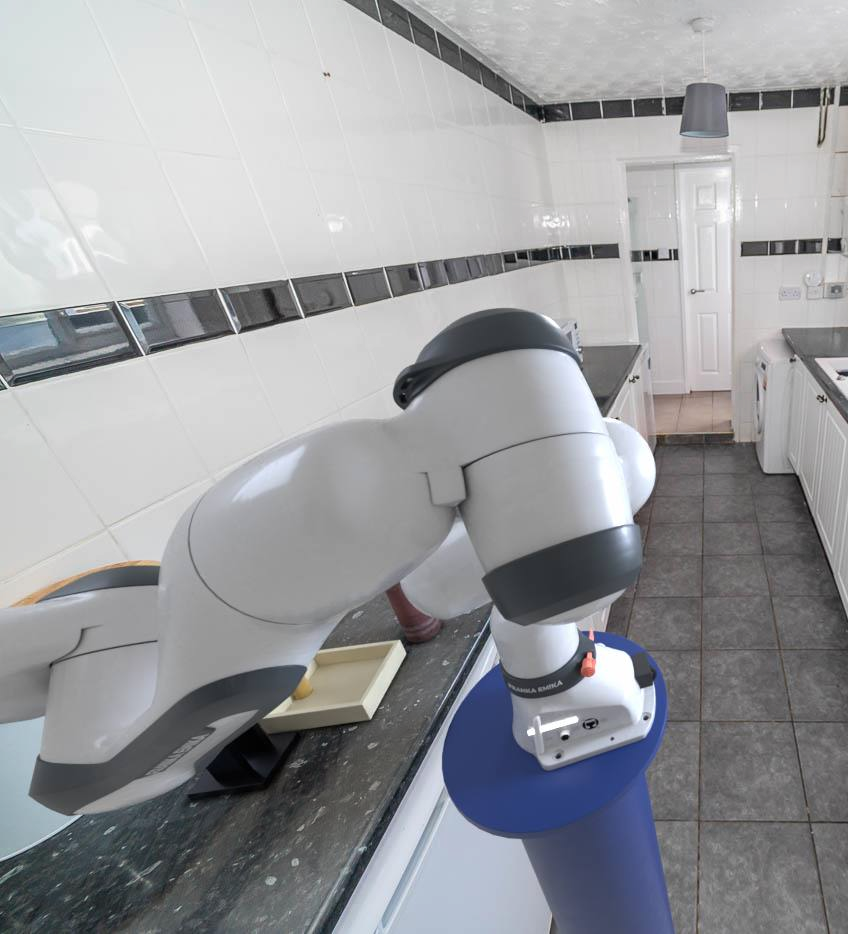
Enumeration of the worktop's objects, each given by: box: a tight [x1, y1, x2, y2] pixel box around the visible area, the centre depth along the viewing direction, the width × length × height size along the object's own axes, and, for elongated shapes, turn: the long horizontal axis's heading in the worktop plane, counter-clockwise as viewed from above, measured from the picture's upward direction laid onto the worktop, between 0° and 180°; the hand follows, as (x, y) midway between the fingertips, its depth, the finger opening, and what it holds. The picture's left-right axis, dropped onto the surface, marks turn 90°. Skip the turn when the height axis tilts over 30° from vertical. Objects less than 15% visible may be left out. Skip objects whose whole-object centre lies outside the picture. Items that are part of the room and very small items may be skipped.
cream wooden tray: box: [258, 639, 407, 735], centre depth 82 cm, size 16×14×4 cm
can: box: [384, 582, 442, 644], centre depth 91 cm, size 6×6×14 cm
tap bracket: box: [185, 722, 302, 801], centre depth 68 cm, size 10×8×14 cm
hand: (251, 653), depth 61 cm, fingers closed
